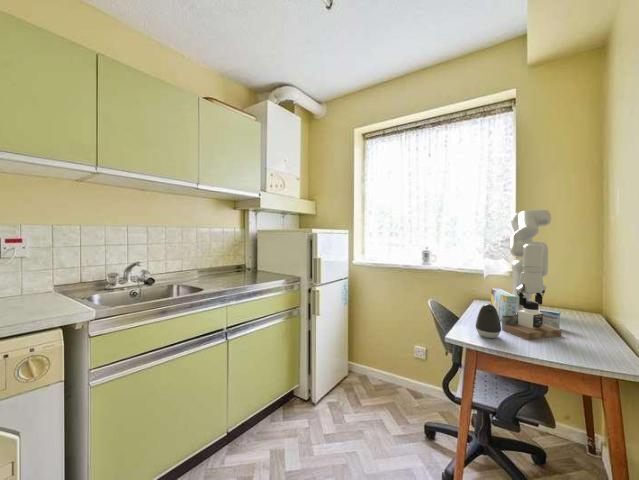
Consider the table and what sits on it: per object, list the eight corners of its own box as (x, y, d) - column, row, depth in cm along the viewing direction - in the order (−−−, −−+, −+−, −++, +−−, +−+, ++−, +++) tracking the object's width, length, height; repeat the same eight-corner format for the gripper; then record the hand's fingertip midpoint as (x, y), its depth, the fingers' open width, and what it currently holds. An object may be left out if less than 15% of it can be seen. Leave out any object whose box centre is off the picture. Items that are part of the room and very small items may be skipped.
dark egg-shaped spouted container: (477, 338, 130) (477, 305, 130) (474, 331, 140) (474, 300, 139) (503, 342, 127) (504, 307, 126) (498, 334, 136) (499, 302, 136)
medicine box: (538, 327, 146) (539, 310, 146) (539, 325, 150) (540, 308, 149) (559, 330, 141) (559, 313, 141) (559, 328, 144) (560, 311, 144)
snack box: (517, 325, 149) (518, 296, 149) (505, 324, 150) (505, 295, 150) (500, 313, 170) (500, 288, 169) (489, 312, 171) (490, 287, 171)
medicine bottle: (533, 329, 134) (534, 304, 133) (517, 324, 141) (518, 300, 140) (542, 327, 137) (543, 302, 136) (527, 323, 143) (527, 299, 143)
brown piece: (533, 326, 147) (533, 312, 147) (561, 335, 134) (562, 320, 134) (501, 329, 142) (502, 315, 142) (527, 339, 129) (528, 323, 129)
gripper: (538, 267, 143) (536, 301, 144) (510, 269, 139) (509, 304, 140) (553, 269, 136) (552, 305, 137) (525, 271, 132) (523, 308, 133)
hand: (530, 304), depth 139 cm, fingers open, 9 cm apart
